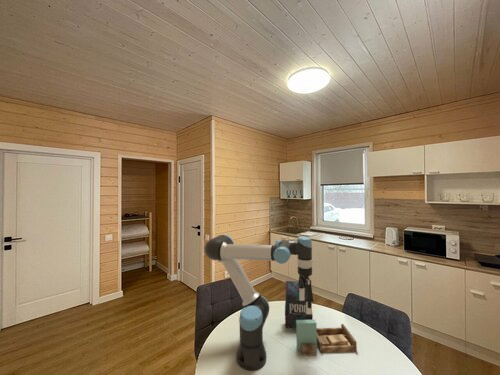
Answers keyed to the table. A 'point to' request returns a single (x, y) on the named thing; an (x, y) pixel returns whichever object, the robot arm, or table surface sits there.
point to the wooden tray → (336, 331)
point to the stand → (308, 349)
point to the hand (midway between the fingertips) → (305, 306)
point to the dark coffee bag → (294, 305)
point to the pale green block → (306, 332)
